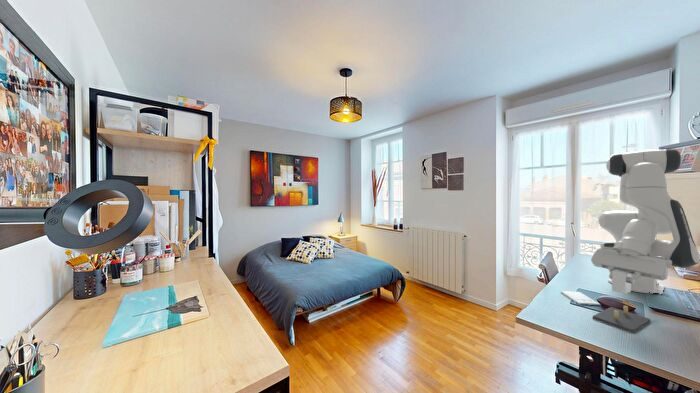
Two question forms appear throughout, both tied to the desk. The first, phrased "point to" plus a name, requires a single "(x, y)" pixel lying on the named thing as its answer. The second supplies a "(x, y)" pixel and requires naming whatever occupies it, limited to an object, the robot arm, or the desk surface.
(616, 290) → the clear tall piece
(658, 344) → the desk surface
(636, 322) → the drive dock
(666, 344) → the desk surface
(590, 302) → the external hard drive
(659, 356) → the desk surface
